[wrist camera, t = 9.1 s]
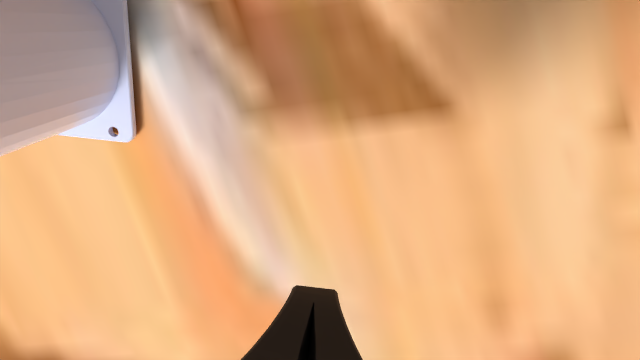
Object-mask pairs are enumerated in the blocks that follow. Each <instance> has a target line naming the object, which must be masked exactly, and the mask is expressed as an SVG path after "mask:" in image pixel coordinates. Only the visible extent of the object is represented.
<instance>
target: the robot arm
mask: <svg viewBox="0 0 640 360" xmlns="http://www.w3.org/2000/svg"><path fill="white" fill-rule="evenodd" d="M113 127H115V128H117V129H118V132H119V134H118V135H117V134H115V133H114V132H113V130H112V129H113ZM55 135H63V136H72V137H81V138H90V139H99V140H109V141H118V142H129V141H131V140H133V139H134V138H135V136H136V120H135V106H134V92H133V78H132V64H131V50H130V36H129V22H128V8H127V0H0V156H2V155H5V154H8V153H10V152H13V151H15V150H18V149H21V148H23V147H26V146H28V145H31V144H34V143H36V142H39V141H42V140H44V139H47V138H49V137H52V136H55ZM241 360H362V358H361V356H360V354H359V352H358V350H357V348H356V346H355V343H354V341H353V339H352V337H351V334H350V332H349V330H348V327H347V325H346V322H345V319H344V317H343V314H342V311H341V307H340V304H339V299H338V293H337V292H336V291H335V290H332V289H324V288H315V287H306V286H298V285H296V286H295V287H293V289H292V291H291V293H290V295H289V297H288V299H287V301H286V303H285V304H284V306H283V307H282V309H281V311H280V312H279V314H278V315H277V316H276V318H275V319H274V321H273V322H272V324H271V325H270V326H269V328H268V329H267V330H266V331H265V333H264V334H263V335H262V336H261V338H260V339H259V340H258V341H257V342H256V344H255V345H254V346H253V347H252V348H251V349H250V350H249V351H248V353H247V354H246V355H245V356H244V357H243V358H242V359H241Z"/></svg>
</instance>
